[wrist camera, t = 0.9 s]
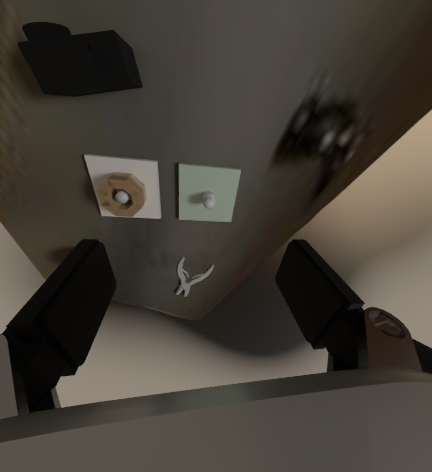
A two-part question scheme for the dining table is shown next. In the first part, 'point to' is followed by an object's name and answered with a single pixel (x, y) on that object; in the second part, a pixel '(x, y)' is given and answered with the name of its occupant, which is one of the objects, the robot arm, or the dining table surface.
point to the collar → (129, 185)
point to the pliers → (185, 285)
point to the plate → (207, 192)
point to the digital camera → (78, 60)
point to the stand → (140, 168)
